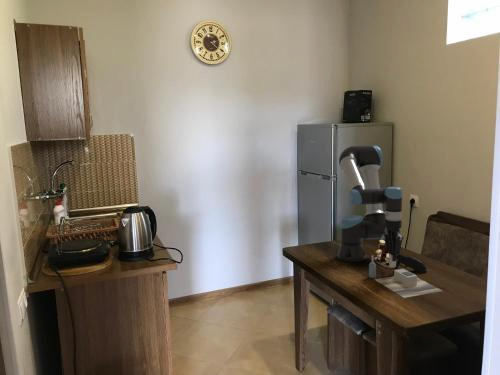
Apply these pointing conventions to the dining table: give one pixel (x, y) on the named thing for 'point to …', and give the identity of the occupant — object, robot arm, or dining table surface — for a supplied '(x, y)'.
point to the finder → (405, 277)
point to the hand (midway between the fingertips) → (392, 266)
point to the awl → (372, 269)
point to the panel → (408, 287)
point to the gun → (410, 263)
